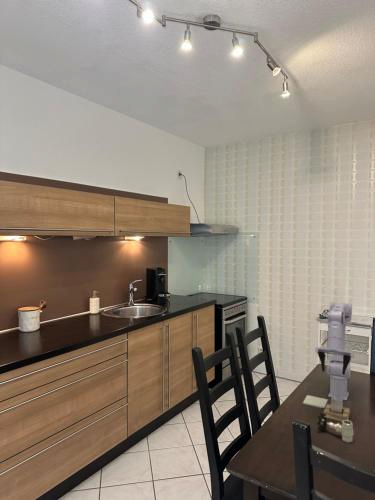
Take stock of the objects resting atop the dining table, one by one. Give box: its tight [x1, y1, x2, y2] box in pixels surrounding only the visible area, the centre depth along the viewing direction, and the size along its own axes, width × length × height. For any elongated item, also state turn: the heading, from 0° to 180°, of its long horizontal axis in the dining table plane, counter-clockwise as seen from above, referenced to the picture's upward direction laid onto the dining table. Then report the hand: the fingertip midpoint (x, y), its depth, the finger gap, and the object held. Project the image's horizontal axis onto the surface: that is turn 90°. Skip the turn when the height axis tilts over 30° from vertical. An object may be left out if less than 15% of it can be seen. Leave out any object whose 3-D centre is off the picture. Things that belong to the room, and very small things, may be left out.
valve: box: [316, 412, 354, 443], centre depth 130 cm, size 7×7×12 cm
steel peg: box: [330, 396, 344, 415], centre depth 146 cm, size 4×4×7 cm
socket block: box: [322, 403, 351, 422], centre depth 146 cm, size 9×9×2 cm
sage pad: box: [302, 394, 329, 409], centre depth 158 cm, size 9×9×1 cm
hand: (333, 372), depth 141 cm, fingers open, 7 cm apart
